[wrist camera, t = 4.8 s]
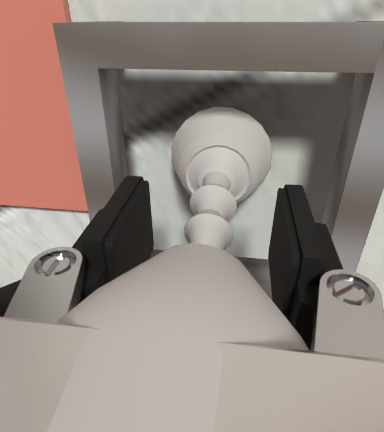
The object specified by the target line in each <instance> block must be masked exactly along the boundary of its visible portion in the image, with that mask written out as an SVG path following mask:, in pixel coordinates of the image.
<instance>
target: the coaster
mask: <svg viewBox="0 0 384 432" xmlns="http://www.w3.org/2000/svg"><path fill="white" fill-rule="evenodd" d="M63 22H71V19H70V13H69V7H68V1H67V0H0V205H8V206H22V207H36V208H49V209H63V210H76V211H88V207H87V202H86V197H85V192H84V186H83V181H82V176H81V171H80V165H79V160H78V155H77V150H76V144H75V139H74V134H73V129H72V123H71V118H70V113H69V108H68V103H67V97H66V92H65V87H64V82H63V76H62V71H61V66H60V61H59V55H58V50H57V45H56V40H55V34H54V29H53V24H52V23H63Z"/></svg>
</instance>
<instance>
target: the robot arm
mask: <svg viewBox="0 0 384 432" xmlns="http://www.w3.org/2000/svg"><path fill="white" fill-rule="evenodd" d="M153 243H154V242H153V229H152V217H151V205H150V193H149V183H148V181H144V179H143V177H140V176H126V177H125V178H124V180H123V181H122V183H121V184H120V185H119V187H118V188H117V190H116V191H115V192H114V194H113V195H112V197H111V198H110V199H109V201H108V202H107V204H106V205H105V207H104V208H103V209H100V210H99V211H98V212H97V214H96V215H95V216H94V218H93V219H92V220H91V222H90V223H89V225H88V226H87V227H86V229H85V230H84V231H83V233H82V234H81V236H80V237H79V238H78V240H77V241H76V243H75V244H74V245H73V247H72V248H71V247H57V248H52V249H49V250H46V251H44V252H42V253H40V254H38V255H37V256H36V257H35V258H33V259H32V261H31V262H30V264H29V265H28V267H27V269H26V271H25V273H24V276H23V278H22V280H19V281H17V282H14V283H12V284H9V285H7V286H4V287H2V288H0V432H47V430H48V427H49V425H50V423H51V421H52V419H53V416H54V414H55V411H56V409H57V406H58V404H59V401H60V399H61V397H62V394H63V392H64V389H65V387H66V384H67V382H68V380H69V377H70V375H71V372H72V370H73V367H74V365H75V363H76V360H77V358H78V355H79V353H80V350H81V348H82V346H83V343H84V341H85V338H86V336H87V335H89V334H91V333H94V332H96V331H98V330H101V329H96V328H90V327H84V326H78V325H72V324H68V323H59V322H57V321H58V320H60V319H61V318H62V317H63V316H65V315H66V314H67V313H68V312H69V311H71V310H72V309H73V308H74V307H76V306H77V305H78V304H79V303H81V302H82V301H83V300H84V299H85V298H87V297H88V296H89V295H90V294H92V293H93V292H94V291H95V290H97V289H98V288H100V287H102V286H103V285H105V284H107V283H109V282H110V281H112V280H114V279H116V278H117V277H119V276H121V275H123V274H124V273H126V272H128V271H130V270H131V269H133V268H135V267H136V266H138V265H140V264H142V263H143V262H145V261H147V260H149V258H150V256H151V253H152V250H153ZM268 260H269V271H270V281H271V291H272V301H273V302H274V304H275V305H276V306H277V307H278V308H279V310H280V311H281V312H282V313H283V315H284V316H285V317H286V318H287V320H288V321H289V322H290V323H291V325H292V326H293V327H294V328H295V329H296V331H297V332H298V333H299V334H300V336H301V337H302V339H303V340H304V342H305V344H306V345H307V347H308V349H309V350H303V349H294V348H286V347H277V346H267V345H255V344H242V343H225V342H216V343H217V344H218V345H219V346H220V347H221V349H222V350H223V351H224V353H223V362H222V370H221V378H220V386H219V394H218V402H217V410H216V418H215V426H214V432H384V309H383V302H382V295H381V293H380V290H379V289H378V287H377V286H376V285H375V284H374V283H373V282H372V281H371V280H369V279H368V278H367V277H365V276H363V275H361V274H359V273H356V272H353V271H349V270H343V267H342V264H341V262H340V259H339V257H338V254H337V251H336V249H335V246H334V243H333V241H332V238H331V236H330V233H329V230H328V228H327V226H326V224H322V223H315V222H314V219H313V216H312V213H311V210H310V207H309V204H308V201H307V198H306V195H305V192H304V189H303V186H302V185H285V186H284V188H279V189H278V193H277V200H276V207H275V213H274V220H273V226H272V233H271V240H270V246H269V255H268Z"/></svg>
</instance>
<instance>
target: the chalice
mask: <svg viewBox="0 0 384 432" xmlns="http://www.w3.org/2000/svg"><path fill="white" fill-rule="evenodd" d="M271 160H272V149H271V144H270V139H269V137H268V135H267V134H266V132H265V130H264V129H263V127H262V125H261V124H260V123H259V122H257V121H256V120H255V119H254V118H253V117H251V116H250V115H249V114H248V113H245V112H242V111H240V110H237V109H235V108H231V107H212V108H209V109H205V110H202V111H198V112H197V113H196V114H194V115H193V116H191V117H190V118H188V119H187V120H185V122H184V123H183V124H182V126H181V127H180V128H179V130H178V131H177V132H176V135H175V138H174V141H173V144H172V164H173V166H174V169H175V172H176V174H177V176H178V178H179V179H180V181H181V183H182V185H183V187H184V188H185V189H186V191H187V192H188V193H189V194H190V195H191V199H190V208H191V211H192V213H193V214H194V215H195V216H194V217H192V218H190V219H189V220H188V222H187V223H186V225H185V228H184V232H185V237H186V239H187V241H188V242H189V243H190V244H183V245H176V246H173V247H171V248H169V249H167V250H165V251H163V252H161V253H159V254H157V255H156V256H154V257H152V258H150V259H149V260H147V261H145V262H143V263H142V264H140V265H138V266H136V267H135V268H133V269H131V270H130V271H128V272H126V273H124V274H123V275H121V276H119V277H117V278H116V279H114V280H112V281H110V282H109V283H107V284H105V285H103V286H102V287H100V288H98V289H97V290H95V291H94V292H93V293H92V294H90V295H89V296H88V297H87V298H85V299H84V300H83V301H82V302H81V303H79V304H78V305H77V306H76V307H74V308H73V309H72V310H71V311H69V312H68V313H67V314H66V315H65V316H63V317H62V318H61V319H60V320H58V321H57V322H59V323H68V324H72V325H78V326H84V327H90V328H96V329H101V330H98V331H96V332H94V333H91V334H89V335H87V336H86V338H85V341H84V343H83V346H82V348H81V350H80V353H79V355H78V358H77V360H76V363H75V365H74V367H73V370H72V372H71V375H70V377H69V380H68V382H67V384H66V387H65V389H64V392H63V394H62V397H61V399H60V401H59V404H58V406H57V409H56V411H55V414H54V416H53V419H52V421H51V423H50V425H49V427H48V430H47V432H214V426H215V418H216V410H217V402H218V394H219V386H220V378H221V370H222V362H223V353H224V351H223V350H222V349H221V347H220V346H219V345H218V344H217V343H216V342H225V343H242V344H255V345H267V346H277V347H286V348H294V349H303V350H309V349H308V347H307V345H306V344H305V342H304V340H303V339H302V337H301V336H300V334H299V333H298V332H297V331H296V329H295V328H294V327H293V326H292V325H291V323H290V322H289V321H288V320H287V318H286V317H285V316H284V315H283V313H282V312H281V311H280V310H279V308H278V307H277V306H276V305H275V304H274V302H273V301H272V300H271V299H270V297H269V296H268V295H267V294H266V292H265V291H264V290H263V289H262V287H261V286H260V285H259V284H258V282H257V281H256V280H255V279H254V278H253V276H252V275H251V274H250V273H249V271H248V270H247V269H246V268H245V266H244V265H243V264H242V263H241V262H240V260H238V259H237V258H235V257H234V256H232V255H231V254H229V253H228V252H226V251H224V250H225V249H226V248H227V247H228V246H229V245H230V244H231V242H232V240H233V231H232V228H231V226H230V225H229V224H228V221H230V220H231V219H232V218H233V217H234V215H235V213H236V209H237V204H236V203H238V202H240V201H242V200H244V199H245V198H246V197H247V196H249V195H250V194H251V193H252V192H253V191H254V190H255V189H256V188H257V187H258V186H259V185H260V184H261V183H262V182H263V181H264V180H265V178H266V176H267V174H268V172H269V170H270V167H271Z"/></svg>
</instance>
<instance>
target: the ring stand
mask: <svg viewBox="0 0 384 432" xmlns="http://www.w3.org/2000/svg"><path fill="white" fill-rule="evenodd" d="M52 24H53V29H54V34H55V40H56V45H57V50H58V55H59V61H60V66H61V71H62V76H63V82H64V87H65V92H66V97H67V103H68V108H69V113H70V118H71V123H72V129H73V134H74V139H75V144H76V150H77V155H78V160H79V165H80V171H81V176H82V181H83V186H84V192H85V197H86V202H87V207H88V213H89V218H90V222H91V220H92V219H93V218H94V216H95V215H96V214H97V212H98V211H99V210H100V209H103V208H104V207H105V205H106V204H107V202H108V201H109V199H110V198H111V197H112V195H113V194H114V192H115V191H116V190H117V188H118V187H119V185H120V184H121V183H122V181H123V180H124V178H125V177H126V176H128V170H127V161H126V152H125V143H124V134H123V125H122V116H121V107H120V98H119V89H118V80H117V71H116V69H169V70H226V71H284V72H341V73H356V76H355V81H354V85H353V89H352V93H351V98H350V102H349V106H348V110H347V114H346V119H345V123H344V127H343V131H342V136H341V140H340V144H339V148H338V152H337V157H336V161H335V165H334V169H333V174H332V178H331V182H330V186H329V190H328V195H327V199H326V203H325V207H324V212H323V216H322V220H321V223H322V224H326V226H327V228H328V230H329V233H330V236H331V238H332V241H333V243H334V246H335V249H336V251H337V254H338V257H339V259H340V262H341V264H342V267H343V270H349V271H353V272H356V269H357V266H358V263H359V260H360V257H361V254H362V251H363V248H364V245H365V242H366V239H367V236H368V233H369V230H370V227H371V224H372V221H373V218H374V215H375V212H376V209H377V206H378V203H379V200H380V197H381V194H382V191H383V188H384V21H357V22H63V23H52ZM161 252H163V250H152V253H151V256H150V258H152V257H154V256H156V255H157V254H159V253H161ZM150 258H149V259H150ZM235 258H237V259H238V260H240V262H241V263H242V264H243V265H244V266H245V268H246V269H247V270H248V271H249V273H250V274H251V275H252V276H253V278H254V279H255V280H256V281H257V282H258V284H259V285H260V286H261V287H262V289H263V290H264V291H265V292H266V294H267V295H268V296H269V297H270V299H271V300H272V291H271V281H270V271H269V260H267V259H256V258H244V257H235Z"/></svg>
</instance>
